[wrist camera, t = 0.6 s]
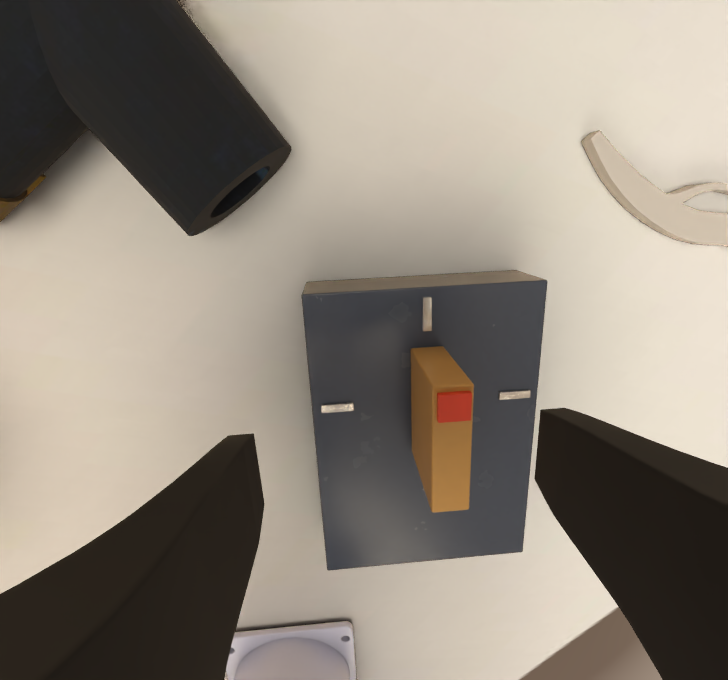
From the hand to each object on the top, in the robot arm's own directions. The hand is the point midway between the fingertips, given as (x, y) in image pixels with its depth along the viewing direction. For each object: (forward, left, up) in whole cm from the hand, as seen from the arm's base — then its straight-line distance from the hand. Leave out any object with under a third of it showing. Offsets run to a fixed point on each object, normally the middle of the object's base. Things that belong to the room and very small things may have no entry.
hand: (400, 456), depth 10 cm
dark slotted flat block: (-4, -2, -10) cm, 11 cm away
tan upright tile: (-2, -2, -7) cm, 8 cm away
